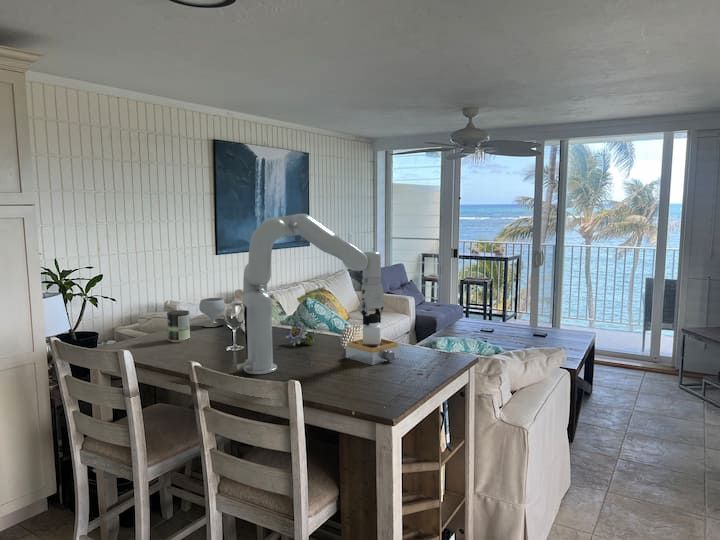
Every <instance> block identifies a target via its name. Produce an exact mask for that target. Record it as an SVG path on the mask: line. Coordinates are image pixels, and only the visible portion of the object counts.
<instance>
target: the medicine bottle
mask: <svg viewBox="0 0 720 540" xmlns="http://www.w3.org/2000/svg"><path fill="white" fill-rule="evenodd" d="M368 316H369V325H363V327H362V339H363V344H380V341H381V339H382V325H381V323H379V315H377V314H374V313H369V314H368Z"/></svg>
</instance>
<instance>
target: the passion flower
mask: <svg viewBox="0 0 720 540" xmlns="http://www.w3.org/2000/svg"><path fill="white" fill-rule="evenodd" d="M307 330H309V326H306V327H305V326H304V324H303V322H301V323H300V324H298V325H295V326H292V327H291V328H290V330H289V332H288V334H287V335H285V339H289V340H290V342H289V343H290V344H291V345H292V346H293V347H294V346H297V344H298V345H300V344H301V343H302V340H303V342H304V343H306V342H307V344H308V346H310V345H311V346H312V343H313V344H314V343H315V339H314V337H313V336H312V335H310V334H311V333H313V335H314V336H316V333H315V331H314V330H311V332H309V331H307ZM305 340H306V341H305Z"/></svg>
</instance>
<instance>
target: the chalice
mask: <svg viewBox="0 0 720 540" xmlns="http://www.w3.org/2000/svg"><path fill="white" fill-rule="evenodd" d="M198 308H199V311H200V313H201V314H203V315H206V316H208V317H209V318H210V322H209V323H210V324H212V323H217V322H216V321H215V319H216V318H217V316H218V315H220V314H222V313H223V312H224V311H225V310H226V303H225V300H224V298H222V297H208V298H202V299H201V300H200V302H199V307H198Z"/></svg>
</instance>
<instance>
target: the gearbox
mask: <svg viewBox="0 0 720 540" xmlns="http://www.w3.org/2000/svg"><path fill="white" fill-rule="evenodd" d="M346 344H347V345H345V358H346V359H349V358H350V359H349V360H353V361H356V360H357V362H360V363H363V362H364V364H368V365H370V366H375V365H377V364H381V362H382V363H384V361H385V362H388V360H389V362H392V361H394V360H395V359H398V357H399V358H400V345H399V342H398V341H393V340H389V339H384V338H381V341H380V344H363V338H361V339H356V340H353V341H352V340H351V341H349V342H347V343H346Z"/></svg>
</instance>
